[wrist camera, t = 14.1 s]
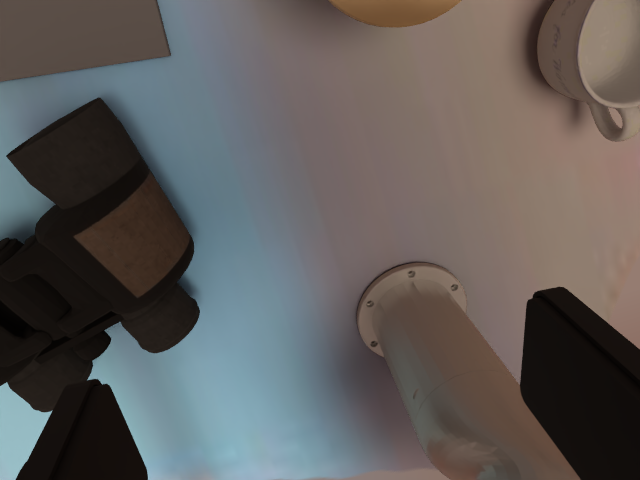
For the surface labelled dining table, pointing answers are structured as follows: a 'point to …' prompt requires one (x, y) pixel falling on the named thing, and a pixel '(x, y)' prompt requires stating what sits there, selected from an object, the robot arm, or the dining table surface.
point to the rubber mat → (77, 35)
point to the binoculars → (89, 258)
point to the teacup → (595, 59)
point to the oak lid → (394, 11)
